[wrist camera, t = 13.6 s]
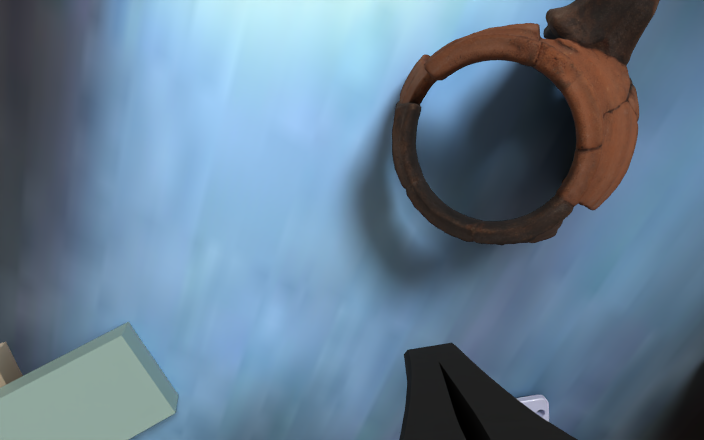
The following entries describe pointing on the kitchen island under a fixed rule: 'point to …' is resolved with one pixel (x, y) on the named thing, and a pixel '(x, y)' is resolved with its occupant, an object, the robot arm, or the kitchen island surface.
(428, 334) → the kitchen island surface
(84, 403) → the domino
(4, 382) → the domino
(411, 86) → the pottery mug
